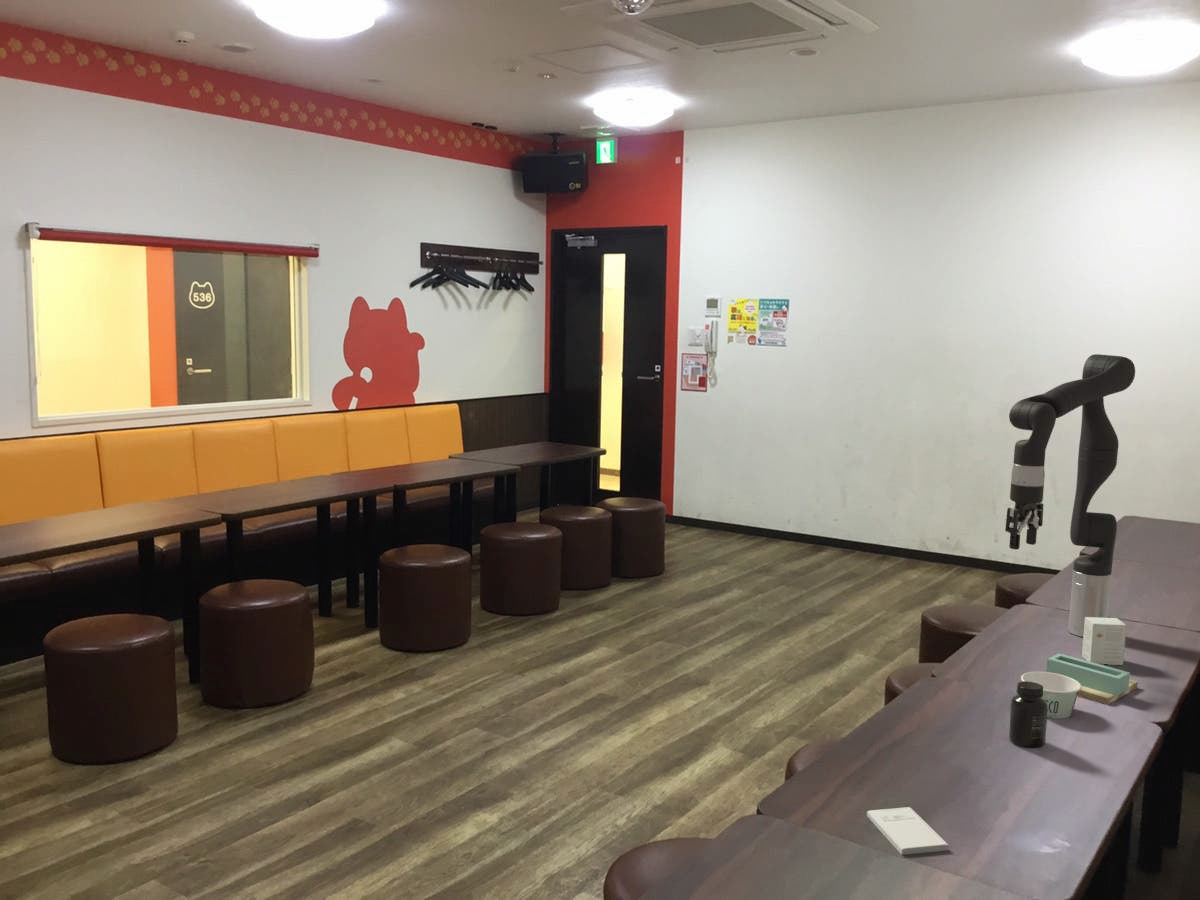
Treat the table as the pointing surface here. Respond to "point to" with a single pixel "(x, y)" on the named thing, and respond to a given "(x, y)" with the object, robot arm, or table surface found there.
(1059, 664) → the teal rectangular frame
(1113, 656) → the small box
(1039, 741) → the supplement bottle
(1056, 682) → the food container
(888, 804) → the table surface
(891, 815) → the external hard drive
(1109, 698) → the peg board
